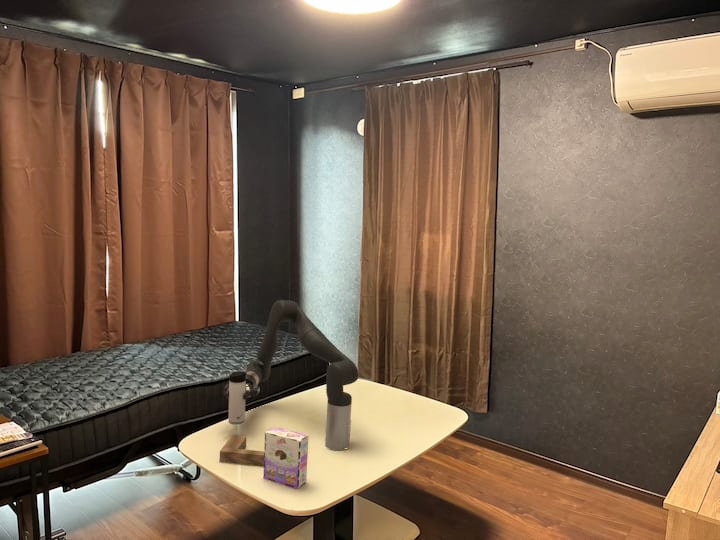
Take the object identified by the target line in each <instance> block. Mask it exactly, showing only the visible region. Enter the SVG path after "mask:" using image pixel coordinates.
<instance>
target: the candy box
mask: <svg viewBox="0 0 720 540" xmlns="http://www.w3.org/2000/svg"><path fill="white" fill-rule="evenodd" d="M308 450H309V434H305V433H304V434H303V433H299V432H297V431H293V430H288V429H284V428H281V427H277V426H274V427H272V428H270V429H268V430H266V431H265V432H264V466H263V479H264V480H267V481H271V482H275V483H278V484H281V485H285V486H287V487H289V488H290V487H292V488H294V489H297V490H298V489H299V488H301V487H302V486H304V485H305V484H306V482H307V473H308V455H309V451H308Z"/></svg>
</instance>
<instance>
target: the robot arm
mask: <svg viewBox="0 0 720 540" xmlns="http://www.w3.org/2000/svg"><path fill="white" fill-rule="evenodd" d="M281 323H291V324H292V325H293V326H294V327H296V329H297V330H298V338H299V341H300V343H301V345H302V347H304V348H305V350H306V351H307V352H308V353H310V354H311V355H312V356H314V357H316V358H318V359H320V360H323V361H324V362H327V363H329V364H328V367H327V369H326V381H325V382H326V389H325V391H326V392H325V393H326V397H327V398H326V399H327V404H326V405H327V406H326V422H325V423H326V424H325V436H324V437H325V439H324V445H325V446H324V447H326V448H327V447H328V448H327V449H329V448H330V450H332V449H335V450H334V451H339V450H338V449H344V448H348V447H349V446H350V443H351V442H350V438H351V428H352V427H351V426H352V420H351V415H352V401H353V398H352V397H353V396H352V395H351V394H350V393H348V392H345V391H344V386H347V385H351V384H354V383H356V382H357V381H358V379H359V376H360V374H359V369H358V366H357V365H356V364H355V363H354V361H353V360H352V359H350V358H349V357H348V356H347V355H346V354H345V353H343V352H342V351H341V350H340V349H338V348H337V347H336V346H335V344H334V343H332V342H331V340H330V339H329V338H327V336H326V335H325V334H324V333H323V332H322V331H321V330H320V329H319V328H318V327H317V326H316V325H315V323H314V322H313V321H312V320H311V319H310V318H309V317H308V316H307V315H306V313H305V312H304V310H303V308H301V307H300V305H299V304H298V303H297V302H296V301H293V300H287V299H286V300H284V299H280V300H276V301H275V302H274V303H273V304H272V306H271V310H270V312H269V317H268V320H267V325H266V328H265V332H264V337H263V340H262V342H261V344H260V347H259V348H258V351H257V353H256V358H257V360H258V361H256V360H252V361H250V362H248V364H247V367H246V369H245V372H247V374H246V392H245V393H244V395H243V399H244V400H245V401H246V400H247V399H248V398H251V397H252V398H255V397H256V396H257V395H258V394H259V393H260V392H261V391H260V389H261V388H260V385H259V383H260V382H262V383H263V382H266V381H267V380H268V379H269V378H270V375H271V367H272V362H273V359H274V356H275V355H276V354H275V353H276V352H277V350H278V346H279V340H278V333H277V332H278V329H279V326H280V324H281ZM223 395H224V397H225V398H226V399H229V383H226V384H225V386H224V387H223ZM349 442H350V443H349ZM348 449H349V448H348ZM344 450H345V449H344Z"/></svg>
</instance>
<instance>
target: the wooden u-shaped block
mask: <svg viewBox="0 0 720 540" xmlns="http://www.w3.org/2000/svg"><path fill="white" fill-rule="evenodd" d="M246 447H247V435H239V434H238V435H237V434H232V435H230V437H229V438H228V440H227V441H226V442H225V444H224V445H223V446H222V447H221V449H220V450H219V460H218V461H219V463H224V462H225V463H227V464H235V465H236V464H237V465H246V466H255V467H256V466H258V467H264V451H263V450H255V449H254V450H253V449H246Z"/></svg>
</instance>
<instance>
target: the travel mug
mask: <svg viewBox="0 0 720 540" xmlns="http://www.w3.org/2000/svg"><path fill="white" fill-rule="evenodd" d="M246 374H247V372H246V371H243V370H241V371H238V370H237V371H234V372H231V373H230V374H229V377H228V379H229V380H228V384H229V398H228V424H230V425H234V426H236V425H237V426H238V425H242V424H244V423H245V421H246V399H245V400H244V399H243V395H244V393H245V392H246Z"/></svg>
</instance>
